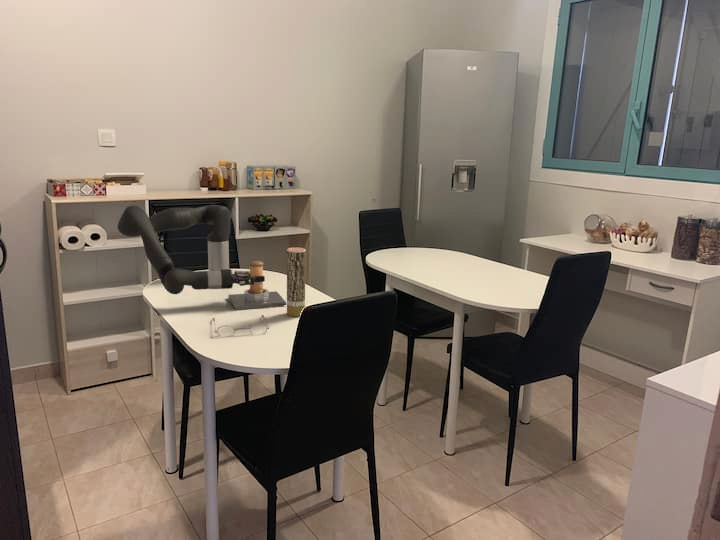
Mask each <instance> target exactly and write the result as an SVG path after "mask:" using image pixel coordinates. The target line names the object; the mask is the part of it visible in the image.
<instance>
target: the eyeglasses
mask: <svg viewBox="0 0 720 540" xmlns="http://www.w3.org/2000/svg"><path fill="white" fill-rule="evenodd" d="M261 317H262V318H263V320H264V322H265V324H264V323H262V322H261V323H253V324H252V325H251V326H250V327H237V328H235V327H234V326H233V325H224V327H231V328H233V330H234V331H233V333H232V334H233V335H234V334H235V332H236V331H238V330H249V332H250V334H252V333H253V332H251V327H252V326H255V325H263V326H265V331H264V332H265V333H267V331H268V330H270V327H269V325H267V321H266V319H265V316H264V314H262V315H261ZM213 322H214V325H216V322H215V317H213ZM222 327H223V325H221V326H219V327H218V328H214V333H216V334H217V335H218V336H219V335H220V334H219V329H220V328H222ZM216 329H217V330H216Z"/></svg>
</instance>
